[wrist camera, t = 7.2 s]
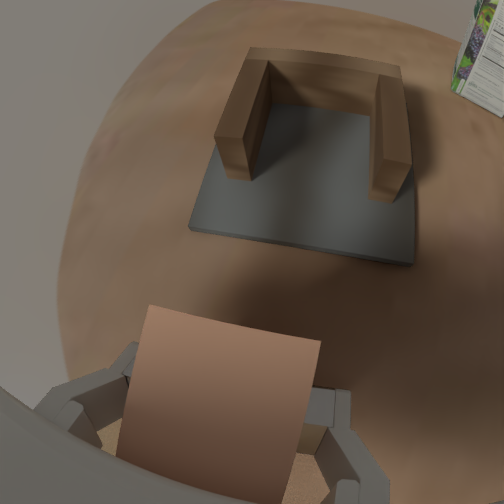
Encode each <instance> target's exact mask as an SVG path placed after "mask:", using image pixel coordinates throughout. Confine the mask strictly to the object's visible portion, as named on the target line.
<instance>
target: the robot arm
mask: <svg viewBox="0 0 504 504" xmlns="http://www.w3.org/2000/svg"><path fill="white" fill-rule="evenodd" d="M138 346H139V343H137V342H135V341H133V342H131V343H130V344H129V345H128V346H127V347H126V349H125V350H124V351H123V352H122V354H121V355H120V356H119V357H118V358H117V360H116V361H115V362H114V363H113V365H112V366H111V367H110V368H109V369H107V368H104V369H102V370H99V371H96V372H94V373H91V374H89V375H86V376H83V377H81V378H78V379H75V380H72V381H70V382H67V383H65V384H62V385H59V386H56V387H53V388H52V389H51V390H50V391H49V392H48V393H47V395H46V396H45V397H44V398H43V399H42V400H41V401H40V403H39V404H38V405H37V406H36V407H35V408H34V410H32V409H30V408H29V407H28V406H26V405H25V404H24V403H22V402H21V401H19V400H18V399H16V398H15V397H14V396H12V395H11V394H10V393H8V392H7V391H6V390H4V389H3V388H2V387H0V504H258V503H253V502H248V501H244V500H240V499H235V498H231V497H227V496H223V495H220V494H216V493H212V492H209V491H205V490H202V489H199V488H196V487H192V486H189V485H186V484H183V483H180V482H177V481H174V480H172V479H169V478H166V477H163V476H161V475H158V474H155V473H153V472H150V471H148V470H145V469H143V468H140V467H138V466H136V465H133V464H131V463H129V462H127V461H124V460H122V459H120V458H118V457H116V456H113V455H111V454H109V453H107V452H105V451H103V450H101V447H102V446H103V445H102V442H101V440H100V438H99V436H98V434H97V431H99V430H101V429H102V428H104V427H106V426H108V425H110V424H111V423H113V422H115V421H117V420H118V419H120V418H122V417H123V412H124V408H125V403H126V398H127V393H128V389H129V384H130V379H131V375H132V371H133V366H134V362H135V358H136V354H137V350H138ZM350 422H351V392H350V390H343V389H335V388H329V387H322V386H315V385H312V389H311V393H310V398H309V402H308V406H307V411H306V415H305V419H304V423H303V427H302V431H301V435H300V439H299V443H298V447H297V450H296V452H297V453H302V454H308V455H314V458H315V460H316V462H317V464H318V466H319V468H320V470H321V472H322V475H323V477H324V479H325V481H326V483H327V485H328V487H329V489H330V492H329V494H328V495H327V496H326V497H325V498H324V500H323V501H322V502H321V503H320V504H389V501H390V480H389V479H388V478H387V476H386V475H385V473H384V472H383V470H382V469H381V468H380V466H379V465H378V463H377V462H376V460H375V459H374V458H373V456H372V455H371V453H370V452H369V450H368V449H367V448H366V446H365V445H364V443H363V442H362V440H361V439H360V438H359V436H358V435H357V433H356V432H355V430H350ZM489 504H504V500H502V501H498V502H494V503H489Z"/></svg>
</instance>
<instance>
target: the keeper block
mask: <svg viewBox="0 0 504 504" xmlns="http://www.w3.org/2000/svg"><path fill="white" fill-rule="evenodd" d="M320 345H321V341H318V340H312V339H306V338H300V337H295V336H289V335H284V334H278V333H273V332H268V331H263V330H258V329H253V328H248V327H243V326H239V325H234V324H229V323H225V322H220V321H216V320H211V319H207V318H203V317H198V316H194V315H190V314H186V313H182V312H178V311H174V310H170V309H166V308H162V307H158V306H154V305H150V304H149V308H148V311H147V315H146V319H145V322H144V326H143V330H142V334H141V338H140V342H139V346H138V350H137V354H136V358H135V362H134V366H133V371H132V375H131V379H130V384H129V389H128V393H127V398H126V403H125V408H124V412H123V418H122V423H121V428H120V433H119V439H118V445H117V450H116V457H118V458H120V459H122V460H124V461H127V462H129V463H131V464H133V465H136V466H138V467H140V468H143V469H145V470H148V471H150V472H153V473H155V474H158V475H161V476H163V477H166V478H169V479H172V480H174V481H177V482H180V483H183V484H186V485H189V486H192V487H196V488H199V489H202V490H205V491H209V492H212V493H216V494H220V495H223V496H227V497H231V498H235V499H240V500H244V501H248V502H253V503H258V504H281V502H282V499H283V496H284V493H285V489H286V486H287V483H288V479H289V476H290V472H291V469H292V465H293V462H294V458H295V454H296V450H297V447H298V443H299V439H300V435H301V431H302V427H303V423H304V419H305V415H306V411H307V406H308V402H309V398H310V393H311V389H312V384H313V379H314V375H315V370H316V365H317V360H318V355H319V350H320Z"/></svg>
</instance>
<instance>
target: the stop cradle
mask: <svg viewBox="0 0 504 504" xmlns="http://www.w3.org/2000/svg"><path fill="white" fill-rule="evenodd" d="M214 138H215V142H216V145H215V148H214V151H213V153H212V156H211V159H210V162H209V165H208V168H207V170H206V173H205V176H204V179H203V182H202V185H201V188H200V191H199V194H198V197H197V200H196V203H195V206H194V209H193V212H192V215H191V218H190V221H189V224H188V227H189V229H190V230H191V231H197V232H204V233H210V234H216V235H222V236H229V237H235V238H241V239H247V240H254V241H260V242H266V243H272V244H278V245H284V246H290V247H296V248H302V249H308V250H314V251H320V252H326V253H332V254H338V255H344V256H350V257H355V258H361V259H367V260H373V261H379V262H384V263H390V264H396V265H401V266H407V267H411V266H412V265H413V264H414V246H415V202H414V177H413V161H412V148H411V137H410V128H409V119H408V111H407V104H406V101H405V95H404V88H403V82H402V76H401V71H400V66H397V65H392V64H388V63H383V62H378V61H373V60H368V59H362V58H357V57H351V56H344V55H338V54H330V53H322V52H313V51H304V50H292V49H277V48H252V47H250V49H249V52H248V54H247V56H246V58H245V61H244V63H243V65H242V68H241V70H240V72H239V75H238V77H237V79H236V82H235V84H234V87H233V89H232V91H231V94H230V96H229V99H228V101H227V104H226V106H225V109H224V111H223V114H222V116H221V119H220V121H219V124H218V127H217V129H216V132H215V134H214Z"/></svg>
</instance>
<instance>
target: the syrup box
mask: <svg viewBox="0 0 504 504" xmlns="http://www.w3.org/2000/svg"><path fill="white" fill-rule="evenodd" d="M451 90H452V91H453V92H455V93H457V94H459V95H461V96H463V97H465V98H467V99H468V100H470V101H472V102H474V103H476V104H478V105H479V106H481V107H483V108H485V109H487V110H488V111H490V112H492V113H494V114H495V115H497V116H499V117H500V118H502V117H503V116H504V0H477V1H476V5H475V7H474V10H473V14H472V16H471V19H470V22H469V25H468V28H467V31H466V33H465V36H464V39H463V42H462V45H461V47H460V50H459V53H458V56H457V58H456V61H455V64H454V69H453V76H452V84H451Z"/></svg>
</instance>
